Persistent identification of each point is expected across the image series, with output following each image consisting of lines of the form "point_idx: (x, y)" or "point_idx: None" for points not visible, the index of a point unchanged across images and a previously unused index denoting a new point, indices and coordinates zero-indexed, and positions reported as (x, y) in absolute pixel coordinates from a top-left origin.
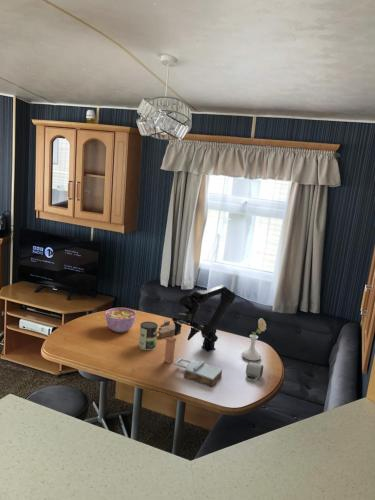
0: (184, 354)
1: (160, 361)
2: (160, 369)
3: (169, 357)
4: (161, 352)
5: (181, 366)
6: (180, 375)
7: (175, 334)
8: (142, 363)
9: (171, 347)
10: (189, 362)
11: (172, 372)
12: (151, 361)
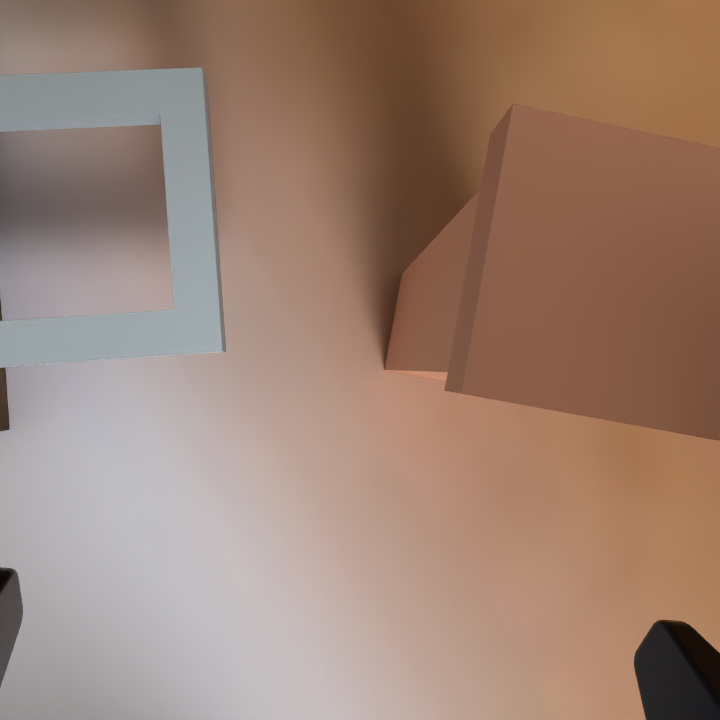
0: (381, 700)
1: None
2: (394, 41)
3: (417, 258)
4: (693, 493)
5: (35, 82)
6: None
7: (677, 648)
8: (695, 15)
9: (453, 255)
10: (5, 322)
11: None
12: None
